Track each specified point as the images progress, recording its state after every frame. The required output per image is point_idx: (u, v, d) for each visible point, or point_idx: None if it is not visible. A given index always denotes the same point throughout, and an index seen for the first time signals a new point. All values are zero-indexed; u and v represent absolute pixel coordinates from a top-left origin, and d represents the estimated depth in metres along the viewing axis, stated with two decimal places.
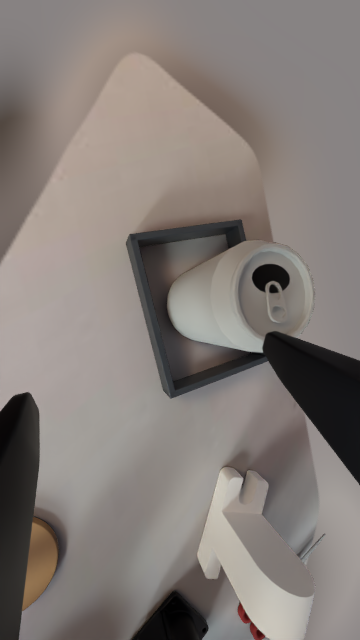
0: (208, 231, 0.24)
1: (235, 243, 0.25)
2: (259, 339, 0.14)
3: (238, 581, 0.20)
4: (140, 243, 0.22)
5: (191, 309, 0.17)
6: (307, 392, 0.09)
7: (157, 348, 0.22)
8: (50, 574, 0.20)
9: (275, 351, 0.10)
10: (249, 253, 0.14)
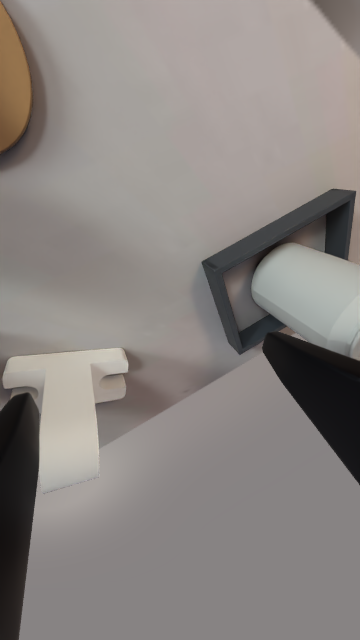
0: None
1: None
2: None
3: (56, 407, 0.16)
4: None
5: (332, 266, 0.19)
6: (307, 392, 0.09)
7: (259, 243, 0.21)
8: None
9: (275, 351, 0.10)
10: None
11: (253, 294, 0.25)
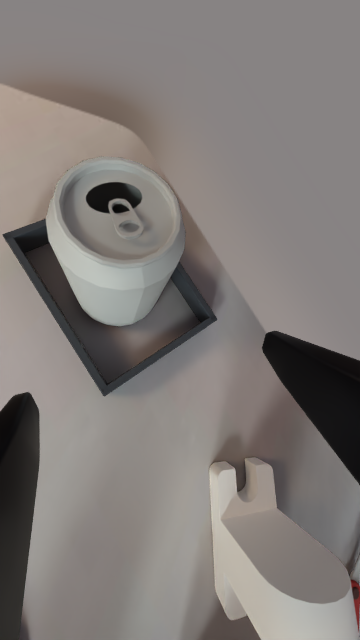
0: None
1: None
2: (112, 263, 0.11)
3: (253, 609, 0.14)
4: (25, 243, 0.20)
5: None
6: (307, 392, 0.09)
7: None
8: None
9: (275, 351, 0.10)
10: (66, 172, 0.11)
11: (139, 319, 0.21)
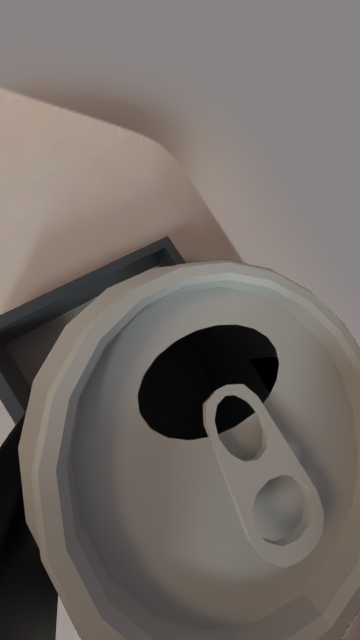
0: (120, 273, 0.14)
1: None
2: None
3: None
4: (3, 336, 0.12)
5: None
6: None
7: None
8: None
9: None
10: (81, 343, 0.03)
11: None
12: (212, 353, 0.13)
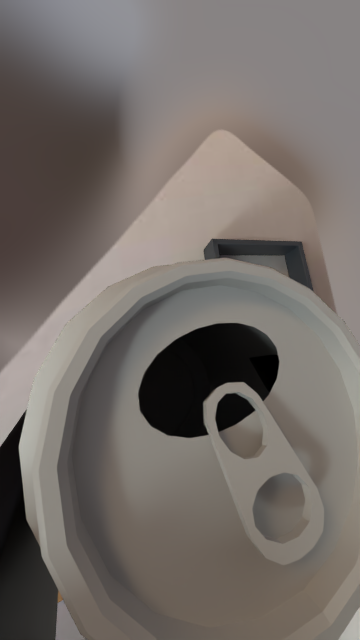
0: (273, 247, 0.28)
1: (294, 261, 0.29)
2: None
3: None
4: None
5: None
6: None
7: None
8: None
9: (259, 356, 0.09)
10: (82, 340, 0.03)
11: None
12: (212, 352, 0.13)
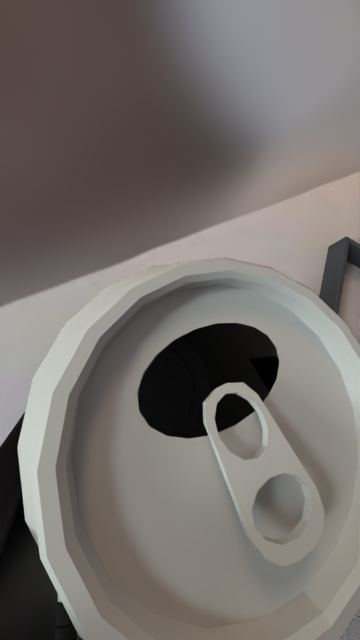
0: None
1: None
2: None
3: None
4: None
5: None
6: None
7: None
8: None
9: None
10: (80, 340, 0.03)
11: None
12: (212, 352, 0.13)
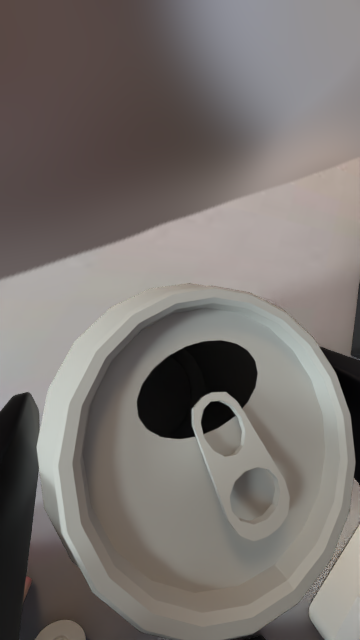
0: None
1: None
2: (224, 638, 0.04)
3: None
4: None
5: None
6: None
7: None
8: None
9: None
10: (90, 360, 0.04)
11: None
12: (207, 357, 0.14)
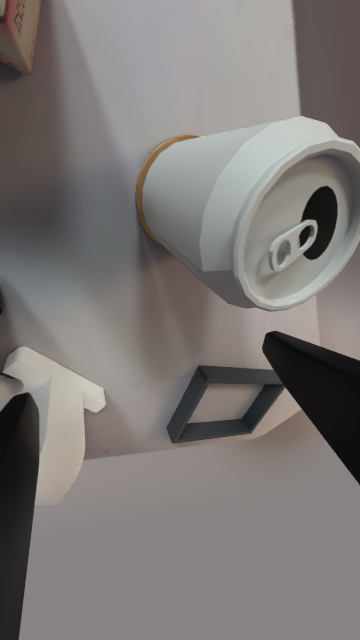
0: (257, 415, 0.38)
1: (240, 426, 0.39)
2: (240, 236, 0.08)
3: (58, 420, 0.17)
4: None
5: (211, 141, 0.10)
6: (307, 392, 0.09)
7: (236, 378, 0.30)
8: (149, 229, 0.18)
9: (275, 351, 0.10)
10: None
11: (152, 233, 0.17)
12: None
